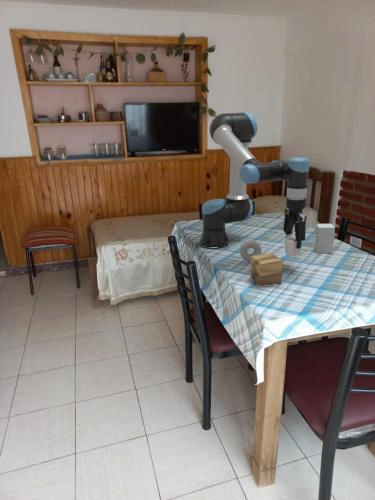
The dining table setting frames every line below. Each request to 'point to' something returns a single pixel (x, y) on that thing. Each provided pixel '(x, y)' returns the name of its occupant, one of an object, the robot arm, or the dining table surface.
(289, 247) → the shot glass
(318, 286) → the dining table surface
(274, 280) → the walnut block
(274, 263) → the oak block
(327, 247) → the supplement box
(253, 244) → the donut
